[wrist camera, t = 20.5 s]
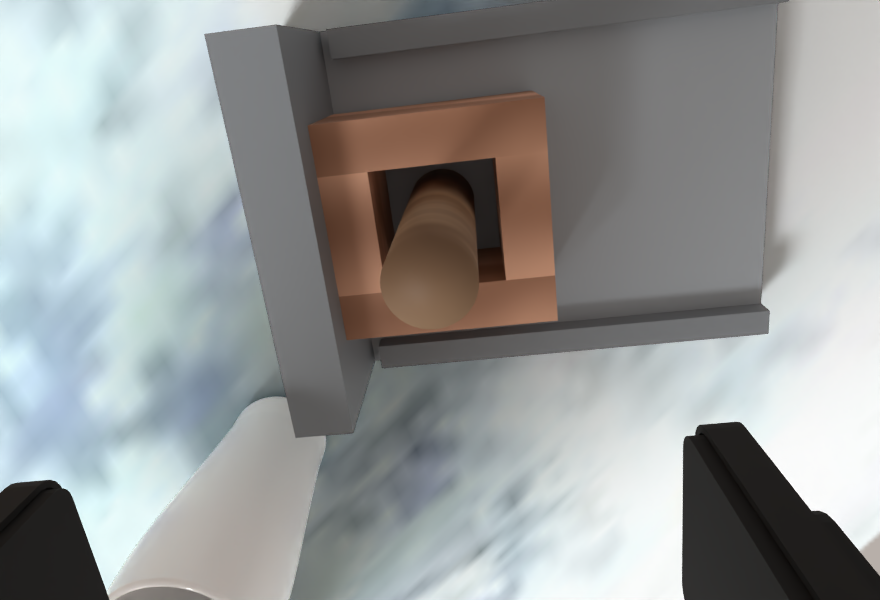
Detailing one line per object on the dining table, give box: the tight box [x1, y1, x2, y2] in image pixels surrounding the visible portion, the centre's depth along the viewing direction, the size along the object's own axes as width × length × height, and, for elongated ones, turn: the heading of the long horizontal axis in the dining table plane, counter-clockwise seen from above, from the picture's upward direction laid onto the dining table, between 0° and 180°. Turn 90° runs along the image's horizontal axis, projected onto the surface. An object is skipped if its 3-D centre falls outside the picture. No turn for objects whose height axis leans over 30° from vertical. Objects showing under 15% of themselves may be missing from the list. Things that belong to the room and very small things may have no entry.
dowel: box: [380, 169, 479, 329], centre depth 25 cm, size 3×3×12 cm
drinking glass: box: [107, 396, 326, 600], centre depth 31 cm, size 7×7×15 cm
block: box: [308, 91, 558, 340], centre depth 28 cm, size 9×9×5 cm
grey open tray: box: [204, 0, 789, 438], centre depth 28 cm, size 16×22×9 cm
